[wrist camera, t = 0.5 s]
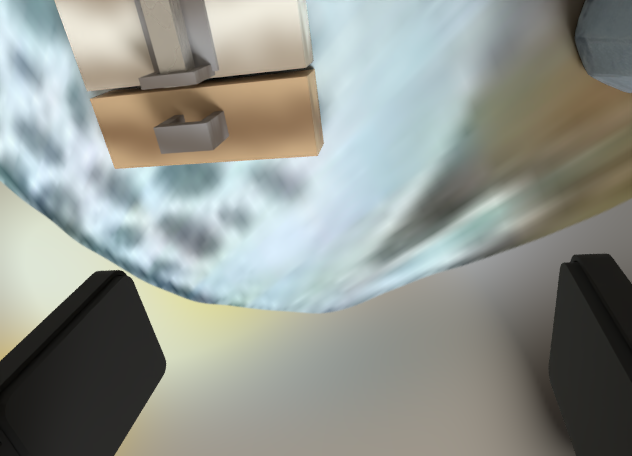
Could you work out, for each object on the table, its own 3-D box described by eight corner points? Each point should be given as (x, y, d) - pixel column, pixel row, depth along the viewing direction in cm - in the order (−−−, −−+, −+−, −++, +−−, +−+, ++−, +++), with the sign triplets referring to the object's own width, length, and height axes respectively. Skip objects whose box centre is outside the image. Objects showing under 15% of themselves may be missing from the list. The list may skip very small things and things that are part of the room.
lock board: (35, -136, 31) (-44, -160, 26) (281, -196, 27) (250, -239, 22) (133, 156, 41) (91, 184, 36) (323, 143, 38) (309, 172, 32)
